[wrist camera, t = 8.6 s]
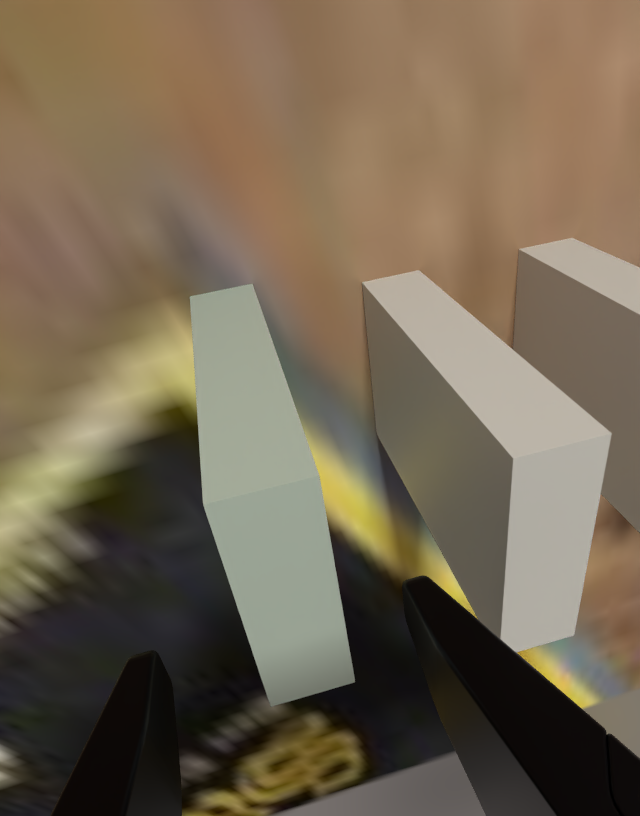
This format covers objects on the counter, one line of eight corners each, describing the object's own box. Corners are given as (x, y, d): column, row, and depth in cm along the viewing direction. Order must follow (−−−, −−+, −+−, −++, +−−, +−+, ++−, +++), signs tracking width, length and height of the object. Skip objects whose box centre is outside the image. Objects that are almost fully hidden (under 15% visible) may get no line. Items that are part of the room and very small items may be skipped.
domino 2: (424, 421, 18) (573, 634, 11) (376, 433, 18) (499, 657, 11) (418, 270, 15) (611, 433, 8) (362, 282, 15) (512, 458, 8)
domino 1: (285, 439, 17) (355, 682, 10) (233, 452, 17) (271, 706, 10) (252, 283, 14) (319, 475, 8) (189, 296, 14) (203, 504, 8)
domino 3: (555, 390, 18) (771, 577, 12) (509, 401, 18) (702, 596, 12) (572, 237, 16) (866, 367, 9) (518, 249, 15) (778, 389, 9)
